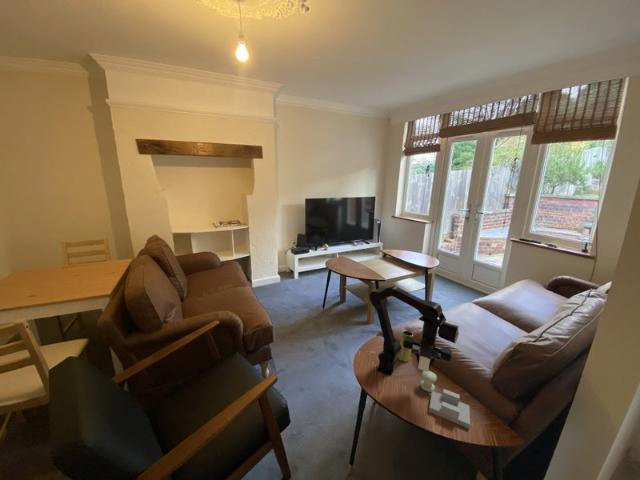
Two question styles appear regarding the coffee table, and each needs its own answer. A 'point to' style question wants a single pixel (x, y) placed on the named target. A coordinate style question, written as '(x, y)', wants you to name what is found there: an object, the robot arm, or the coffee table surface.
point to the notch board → (462, 407)
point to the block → (424, 363)
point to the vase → (405, 351)
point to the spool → (428, 381)
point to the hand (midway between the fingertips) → (423, 365)
